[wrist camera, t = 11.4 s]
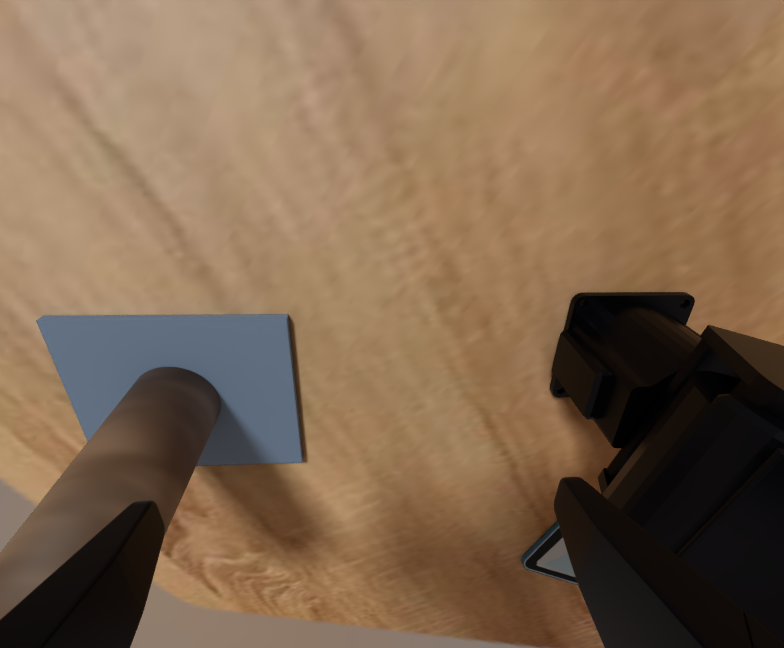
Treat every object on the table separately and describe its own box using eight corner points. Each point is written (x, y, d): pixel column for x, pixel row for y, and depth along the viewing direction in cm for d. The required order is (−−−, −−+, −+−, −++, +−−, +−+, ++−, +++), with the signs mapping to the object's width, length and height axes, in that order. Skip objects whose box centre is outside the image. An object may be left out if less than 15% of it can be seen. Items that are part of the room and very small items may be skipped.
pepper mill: (232, 385, 23) (105, 665, 12) (206, 442, 25) (76, 730, 13) (144, 353, 21) (-92, 634, 10) (124, 416, 23) (-95, 710, 12)
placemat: (287, 314, 22) (286, 318, 21) (302, 456, 26) (301, 462, 26) (43, 315, 21) (36, 320, 20) (103, 462, 25) (99, 468, 25)
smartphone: (576, 507, 30) (723, 560, 33) (570, 496, 31) (714, 549, 34) (517, 567, 33) (658, 609, 36) (513, 555, 33) (651, 598, 37)
